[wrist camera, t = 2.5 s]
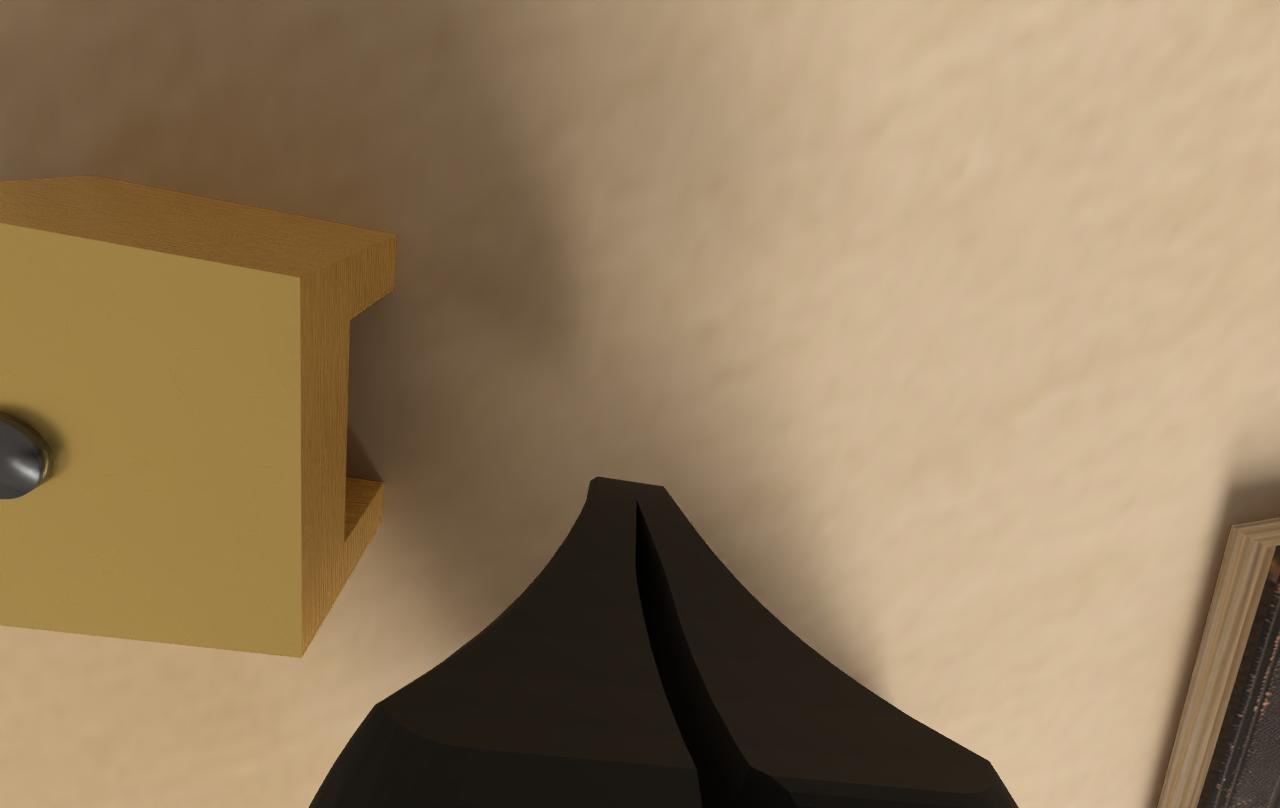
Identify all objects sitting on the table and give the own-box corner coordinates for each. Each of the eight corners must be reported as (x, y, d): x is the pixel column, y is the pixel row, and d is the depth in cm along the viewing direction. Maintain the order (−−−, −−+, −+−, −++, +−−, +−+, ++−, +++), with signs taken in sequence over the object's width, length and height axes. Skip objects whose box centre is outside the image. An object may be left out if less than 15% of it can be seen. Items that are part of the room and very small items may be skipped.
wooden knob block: (397, 234, 13) (290, 281, 9) (381, 521, 16) (294, 670, 11) (93, 175, 12) (-197, 193, 8) (132, 487, 15) (-67, 632, 11)
